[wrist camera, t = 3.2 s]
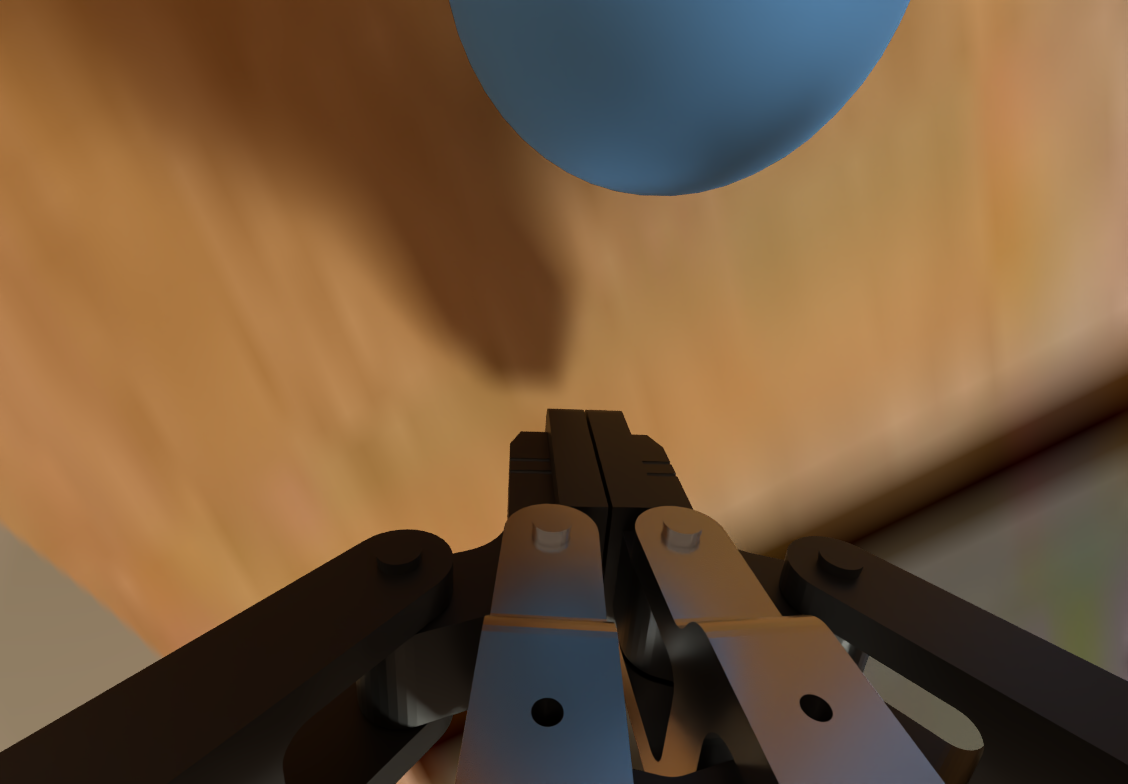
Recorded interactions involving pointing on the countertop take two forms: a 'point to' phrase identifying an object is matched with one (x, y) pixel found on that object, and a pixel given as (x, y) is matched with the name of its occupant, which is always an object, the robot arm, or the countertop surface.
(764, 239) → the countertop surface
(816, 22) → the ball
